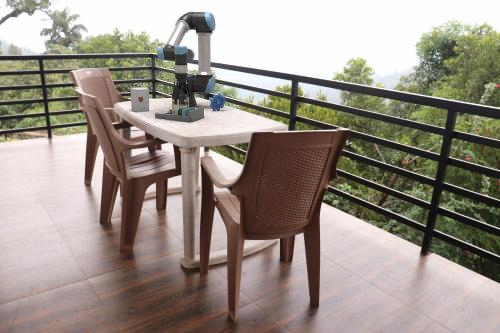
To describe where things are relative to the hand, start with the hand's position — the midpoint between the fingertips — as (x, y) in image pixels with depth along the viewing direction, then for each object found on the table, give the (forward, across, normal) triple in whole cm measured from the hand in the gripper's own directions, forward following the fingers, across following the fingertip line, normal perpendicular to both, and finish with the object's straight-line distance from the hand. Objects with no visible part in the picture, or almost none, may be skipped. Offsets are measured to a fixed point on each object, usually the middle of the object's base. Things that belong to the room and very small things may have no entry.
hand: (181, 108), depth 253 cm
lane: (+6, 0, -2) cm, 6 cm away
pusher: (+5, 0, +5) cm, 7 cm away
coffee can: (+5, 0, -1) cm, 5 cm away
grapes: (+6, -38, +6) cm, 38 cm away
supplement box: (+6, -8, -37) cm, 38 cm away
